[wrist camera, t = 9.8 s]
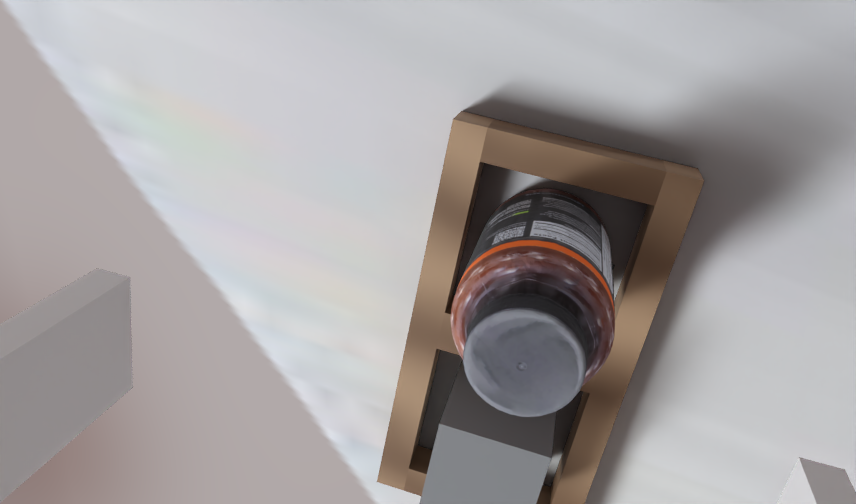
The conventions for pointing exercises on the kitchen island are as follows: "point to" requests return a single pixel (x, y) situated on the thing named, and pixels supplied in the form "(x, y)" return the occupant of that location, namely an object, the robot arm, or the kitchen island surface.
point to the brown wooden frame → (634, 304)
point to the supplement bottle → (536, 303)
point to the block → (486, 452)
